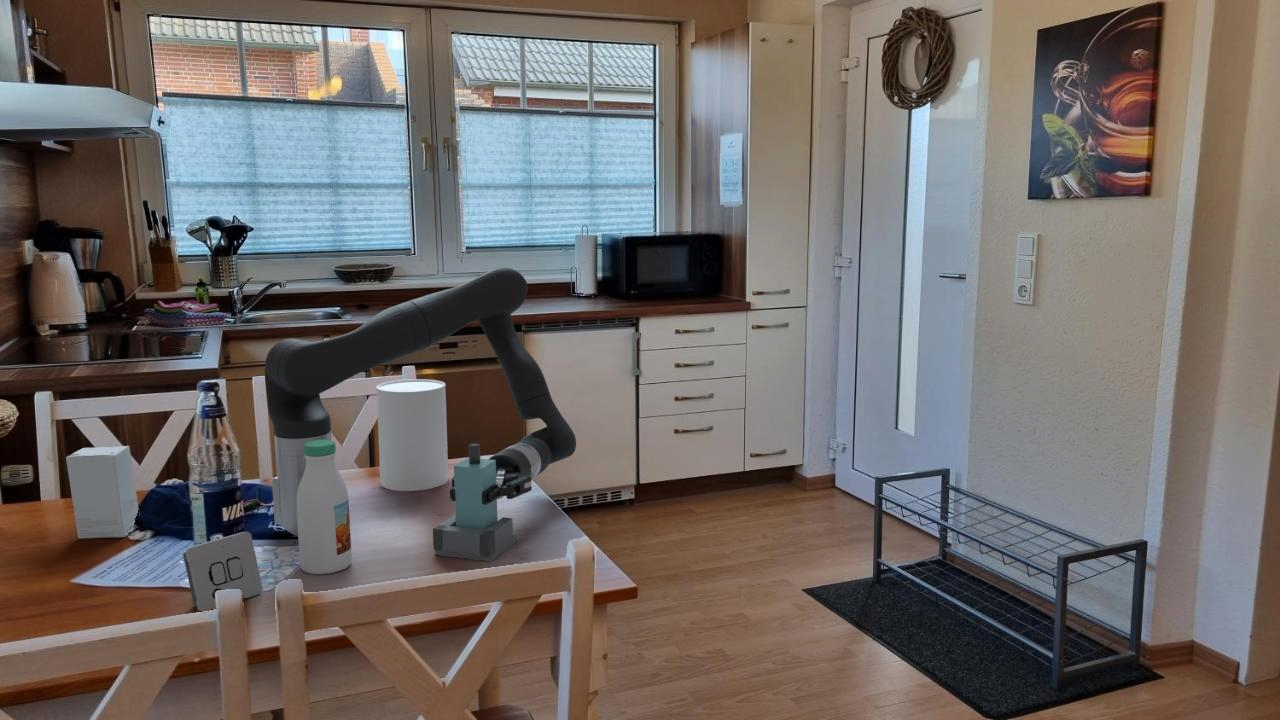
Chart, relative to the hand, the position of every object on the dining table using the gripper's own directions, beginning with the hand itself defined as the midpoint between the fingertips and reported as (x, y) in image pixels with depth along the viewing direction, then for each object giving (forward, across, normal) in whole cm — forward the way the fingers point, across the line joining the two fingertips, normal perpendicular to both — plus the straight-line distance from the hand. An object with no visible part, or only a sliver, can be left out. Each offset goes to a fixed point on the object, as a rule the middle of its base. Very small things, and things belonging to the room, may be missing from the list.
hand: (468, 497), depth 152 cm
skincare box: (+11, -64, +10) cm, 65 cm away
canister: (-33, -30, +10) cm, 45 cm away
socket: (-2, 0, +10) cm, 10 cm away
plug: (-3, 0, +6) cm, 7 cm away
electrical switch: (+27, -25, +9) cm, 38 cm away
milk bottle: (+12, -19, +10) cm, 24 cm away
